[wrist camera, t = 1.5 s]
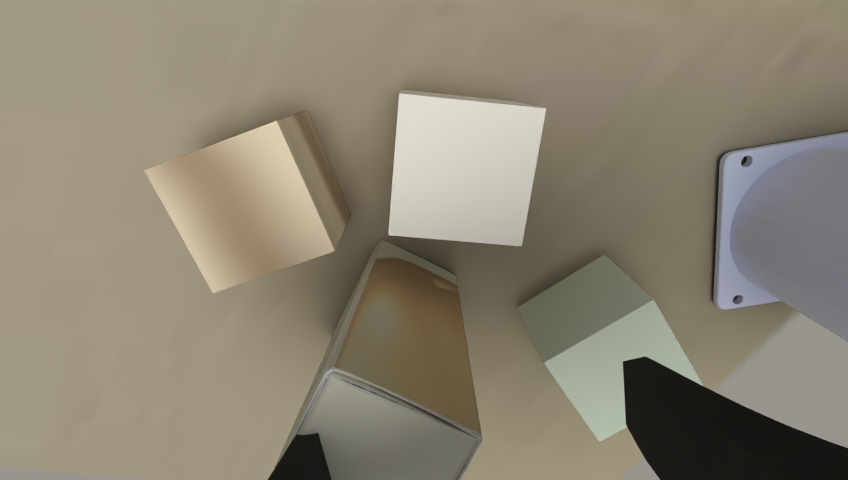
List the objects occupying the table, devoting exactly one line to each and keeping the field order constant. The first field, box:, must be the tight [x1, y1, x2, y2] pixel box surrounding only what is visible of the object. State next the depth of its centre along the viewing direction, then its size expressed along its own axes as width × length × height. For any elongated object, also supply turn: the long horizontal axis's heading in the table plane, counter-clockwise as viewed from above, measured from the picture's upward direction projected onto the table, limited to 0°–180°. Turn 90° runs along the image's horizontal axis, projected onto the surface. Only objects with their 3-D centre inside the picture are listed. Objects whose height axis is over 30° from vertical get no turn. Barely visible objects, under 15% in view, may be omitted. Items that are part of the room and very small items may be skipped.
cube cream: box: [388, 90, 546, 246], centre depth 19 cm, size 5×5×5 cm
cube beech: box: [144, 111, 351, 293], centre depth 19 cm, size 5×5×5 cm
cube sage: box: [518, 254, 703, 442], centre depth 22 cm, size 5×5×5 cm
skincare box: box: [275, 240, 482, 480], centre depth 18 cm, size 6×4×12 cm
